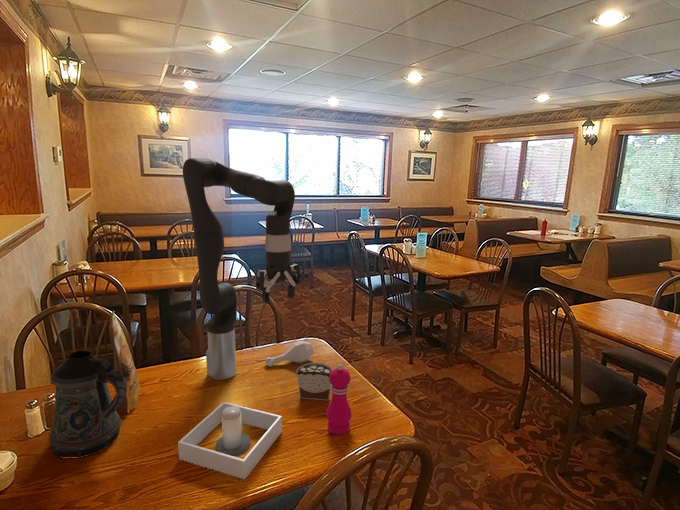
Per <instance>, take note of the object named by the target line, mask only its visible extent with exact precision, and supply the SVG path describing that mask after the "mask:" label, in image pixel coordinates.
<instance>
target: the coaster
mask: <svg viewBox="0 0 680 510" xmlns="http://www.w3.org/2000/svg"><path fill="white" fill-rule="evenodd" d="M250 446H251V438H250V436H249V435H248V434H246V433H244V432H242V444H241V445H240V446H239V447H237V448H235V449H227V448H225V447H224V446H223V435H222V436H220V437H219V438H218V440H216V443H215V449H216V450H215V451H217V452H220V453H223V454H227V455H230V456H234V457H237V456H239V455H242V454H243V453H246V451H248V450H249V448H250Z"/></svg>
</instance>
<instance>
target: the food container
mask: <svg viewBox="0 0 680 510" xmlns="http://www.w3.org/2000/svg"><path fill="white" fill-rule="evenodd" d="M332 370H333V368H332V367H330V365H328V364H326V363H321V362H309V363H308V362H307V363H304V364H301V366H299V367H298V368H297V369H296V372H295V376H297V382H298V384H297V385H298V391H299V399H305V400H316V401H317V400H318V401H329V400H330V394H331V383H330V381H329V375H330V373H331V371H332Z"/></svg>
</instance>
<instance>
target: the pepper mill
mask: <svg viewBox="0 0 680 510" xmlns="http://www.w3.org/2000/svg"><path fill="white" fill-rule="evenodd" d="M329 381H330V383H331V387H330V392H331V394H332V396H331V399H330V400H331V401H330V402H329V405H328V407H327V409H326V414H325V416H326V420H327V430H328V431H329V432H330V433H331V434H333V435H337V436H339V435H345V434H347V433H348V432H349V430H350V428H351V425H350V421H351V419H352V409H351V406H350V404H349V401H348V397H347V394H348V391H349V384H350V383H351V374H350V372H349V370H347V369H346V368H344V365H343V364H342V363H339V364H337V366H336V368H333V369H332V371H331V373H330V375H329Z"/></svg>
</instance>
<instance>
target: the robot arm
mask: <svg viewBox="0 0 680 510" xmlns="http://www.w3.org/2000/svg"><path fill="white" fill-rule="evenodd" d="M182 178H183V182H184V188H185V191H186V195H187V200H188V203H189V210H190V215H191V221H192V228H193V238H194V246H195V250H196V256H197V267H198V282H199V283H198V284H199V300H200V304H201V307H202V309H203V310H204V312H206V314H208V315H212V316H211V317H210V319H209V320H208V321H207V324H206V331H207V347H208V348H207V349H206V350H205V357H206V360H205V361H206V375H207V376H209V377H210V379H213V380H216V381H224V380H229V379H232V378H234V376H235V375H236V374H237V357H236V355H237V354H236V327H235V326H236V325H235V324H236V321H237V315H238V313H237V312H238V311H237V310H238V309H237V308H238V306H237V305H238V297H237V292H236V289H235V288H234V286H233V285H232V284H231V283H229V282H220V283H219V279H218V274H219V272H218V271H219V267H220V263H221V260H222V256H223V254H224V249H225V239H224V232H223V226H222V223H221V222H220V220H219V218H218V217H217V216H216V214H215V212H214V211H213V210H212V209H211V207H210V205H209V203H208V201H207V198H206V191H205V188H211V187H226V188H229V189H231V190H232V191H233V192H234V193H235V194H237V195H240V196H243V197H247V198H250V199H254V200H255V201H257V202H259V203H261V204H263V205H265V206H272V207H273V206H274V208H273V211H272V212H271V213H268V214H267V215H266V216H265V217H266V218H265V246H264V247H265V265H266V267H265V269H264V270H263V269H262V270H260V269H257V270H256V273H255V274H256V276H255V278H256V279H255V289H256V290H258V291H260V292H262V293H261V294H262V301H263V303H265V304H267V305H268V304H270V303H271V299H270V298H271V297H270V295H271V294H270V293H271V292H270V289H271V288H272V286H274V285H275V283H280V282H286V284H287V297H288V298H290V299H294V296H295V295H296V294H295V293H296V292H295V291H296V290H295V286H296V285H298V284H300V283H301V271H300V269H301V268H300V265H299V264H296V263H292V240H291V222H290V221H291V218H292V217H291V216H292V214H293V209H294V204H295V199H296V198H295V197H296V193H295V189H294V185H293V184H292V183H291V182H290V181H288V180H282V179H281V180H267V179H265V177H263V176H260V175H258V174H254V173H250V172H246V171H242V170H238V169H235V168H231V167H229V166H227V165H224V164H222V163H221V162H219V161H217V160H215V159H212V158H203V157H202V158H201V157H199V158H197V157H194V158H193V157H191V158H188V159H185V161H184V162H183V165H182ZM291 263H292V265H291ZM291 272H292V276H291V275H290V273H291Z"/></svg>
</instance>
